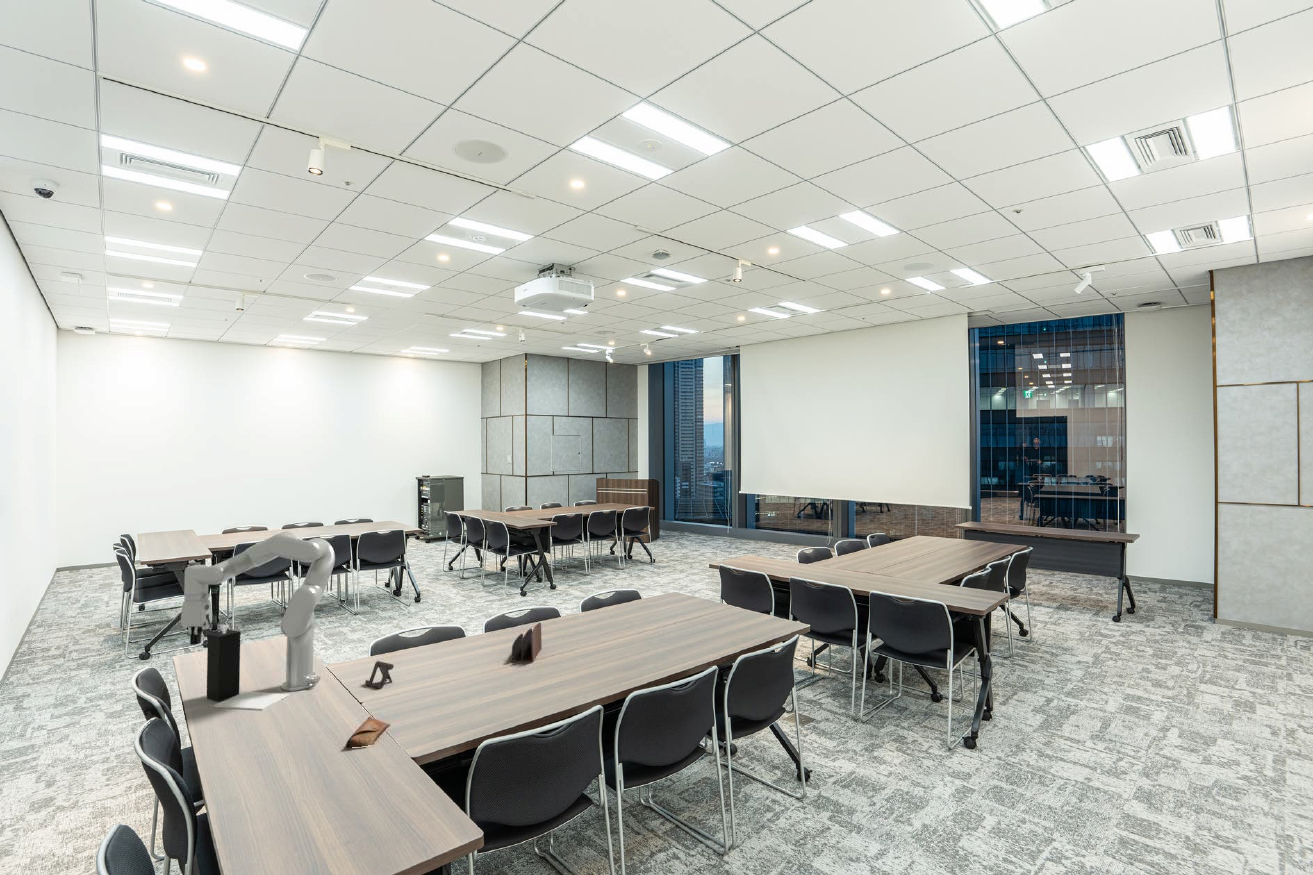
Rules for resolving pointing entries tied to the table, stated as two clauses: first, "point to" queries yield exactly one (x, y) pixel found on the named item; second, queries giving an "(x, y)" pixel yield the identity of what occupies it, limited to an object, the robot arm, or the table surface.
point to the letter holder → (527, 645)
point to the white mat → (252, 700)
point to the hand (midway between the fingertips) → (195, 643)
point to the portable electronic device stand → (384, 671)
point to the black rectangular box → (223, 664)
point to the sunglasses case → (367, 733)
